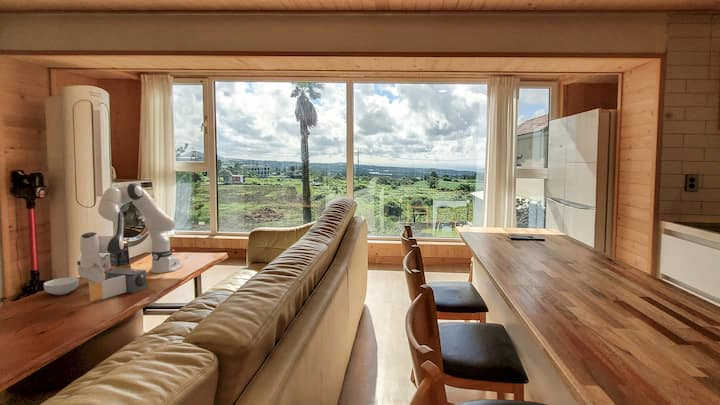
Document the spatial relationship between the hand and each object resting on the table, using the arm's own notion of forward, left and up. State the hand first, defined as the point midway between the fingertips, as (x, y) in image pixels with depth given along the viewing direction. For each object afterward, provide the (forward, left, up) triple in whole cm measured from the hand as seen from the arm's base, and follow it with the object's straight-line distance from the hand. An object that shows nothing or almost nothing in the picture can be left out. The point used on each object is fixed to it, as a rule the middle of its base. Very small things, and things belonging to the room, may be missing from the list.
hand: (92, 287), depth 225 cm
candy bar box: (-31, -28, -8) cm, 42 cm away
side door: (-6, +4, -7) cm, 11 cm away
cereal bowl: (-6, -30, -8) cm, 31 cm away
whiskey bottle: (-53, -36, -8) cm, 64 cm away
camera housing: (-22, +1, -8) cm, 23 cm away
